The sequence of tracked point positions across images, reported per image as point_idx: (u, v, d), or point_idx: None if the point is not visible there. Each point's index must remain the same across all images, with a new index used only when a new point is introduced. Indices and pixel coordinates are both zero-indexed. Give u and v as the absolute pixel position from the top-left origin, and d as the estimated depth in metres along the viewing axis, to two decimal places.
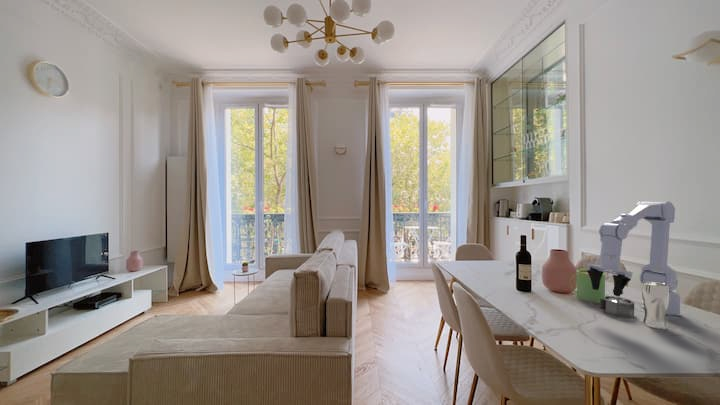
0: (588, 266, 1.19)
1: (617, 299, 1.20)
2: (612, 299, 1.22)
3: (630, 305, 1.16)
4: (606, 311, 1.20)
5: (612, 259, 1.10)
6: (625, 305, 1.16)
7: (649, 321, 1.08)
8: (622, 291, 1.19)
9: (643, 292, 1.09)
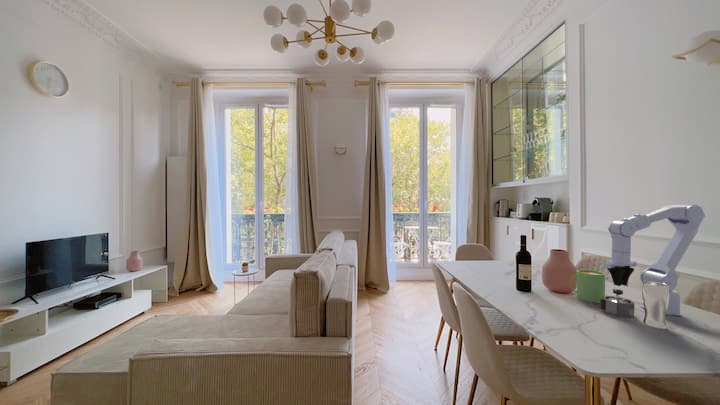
0: None
1: (617, 299, 1.20)
2: (612, 299, 1.22)
3: (630, 305, 1.16)
4: (606, 311, 1.20)
5: (612, 253, 1.23)
6: (625, 305, 1.16)
7: (649, 321, 1.08)
8: (622, 291, 1.19)
9: (643, 292, 1.09)
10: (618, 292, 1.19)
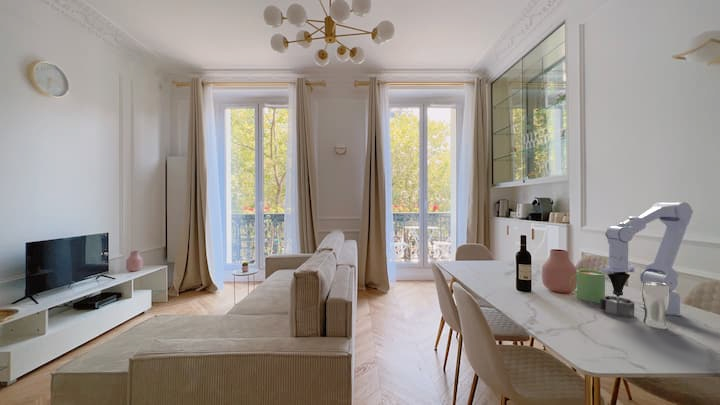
0: None
1: (617, 300, 1.20)
2: (612, 300, 1.22)
3: (630, 305, 1.16)
4: (606, 311, 1.20)
5: (609, 259, 1.21)
6: (625, 305, 1.16)
7: (649, 321, 1.08)
8: (622, 292, 1.19)
9: (643, 292, 1.09)
10: (618, 293, 1.19)
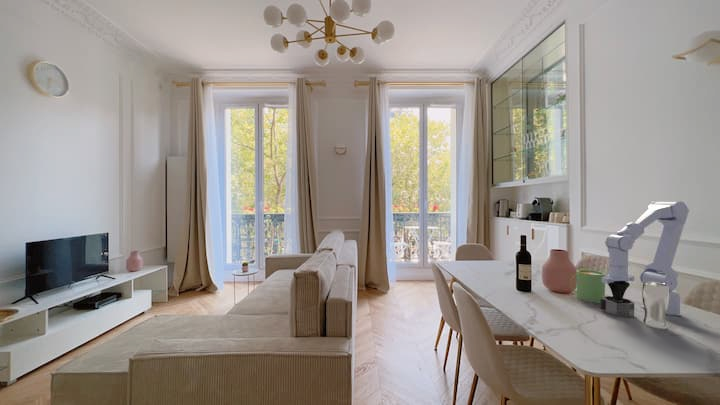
0: None
1: None
2: None
3: (630, 305, 1.16)
4: (606, 311, 1.20)
5: (609, 267, 1.21)
6: (625, 305, 1.16)
7: (649, 321, 1.08)
8: (622, 300, 1.19)
9: (643, 292, 1.09)
10: (618, 301, 1.19)
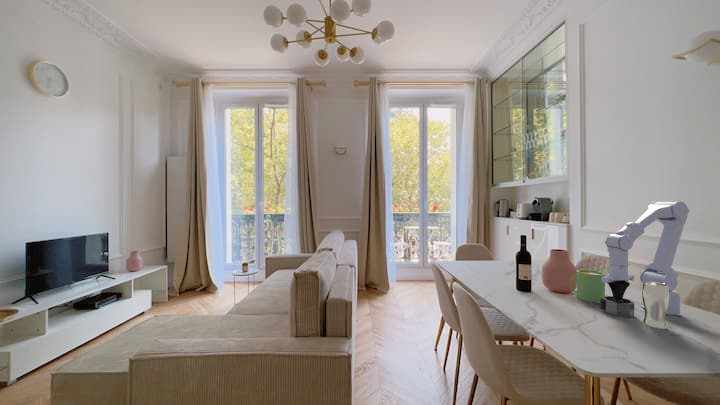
0: None
1: None
2: None
3: (630, 305, 1.16)
4: (606, 311, 1.20)
5: (609, 267, 1.21)
6: (625, 305, 1.16)
7: (649, 321, 1.08)
8: (622, 300, 1.19)
9: (643, 292, 1.09)
10: (618, 301, 1.19)
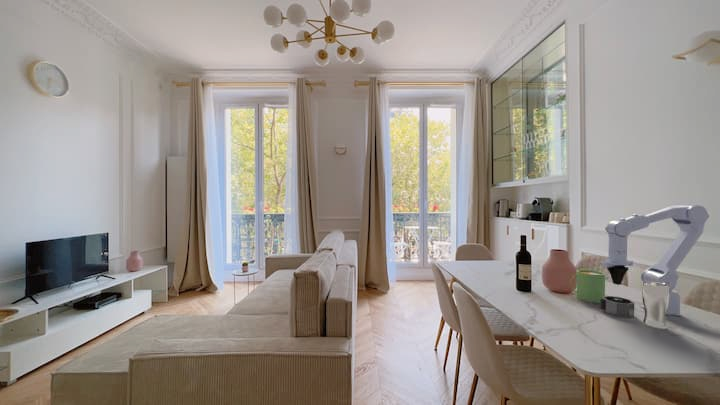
0: None
1: None
2: None
3: (630, 305, 1.16)
4: (606, 311, 1.20)
5: (609, 253, 1.25)
6: (625, 305, 1.16)
7: (649, 321, 1.08)
8: (622, 300, 1.19)
9: (643, 292, 1.09)
10: (618, 301, 1.19)
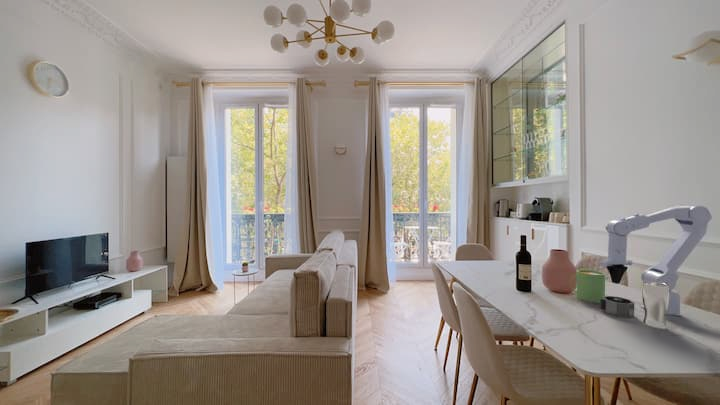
0: None
1: None
2: None
3: (630, 305, 1.16)
4: (606, 311, 1.20)
5: (608, 252, 1.26)
6: (625, 305, 1.16)
7: (649, 321, 1.08)
8: (622, 300, 1.19)
9: (643, 292, 1.09)
10: (618, 301, 1.19)
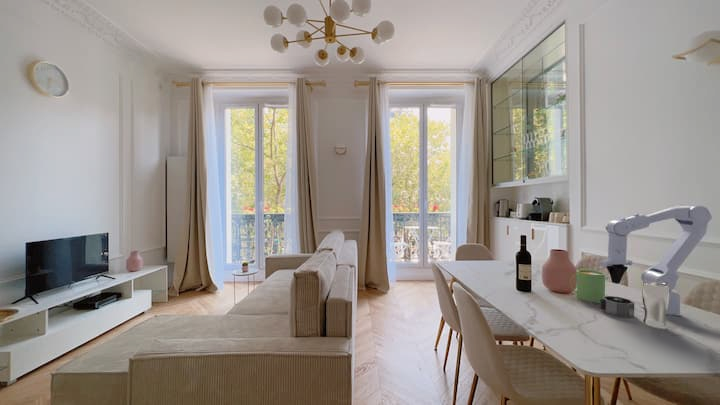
0: None
1: None
2: None
3: (630, 305, 1.16)
4: (606, 311, 1.20)
5: (608, 252, 1.26)
6: (625, 305, 1.16)
7: (649, 321, 1.08)
8: (622, 300, 1.19)
9: (643, 292, 1.09)
10: (618, 301, 1.19)
